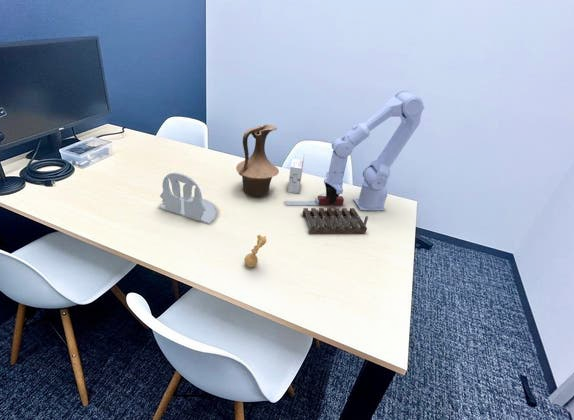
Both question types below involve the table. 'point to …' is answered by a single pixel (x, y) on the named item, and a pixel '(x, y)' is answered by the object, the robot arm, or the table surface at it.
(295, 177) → the ink cartridge box
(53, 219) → the table surface
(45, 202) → the table surface
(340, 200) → the knife
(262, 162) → the pitcher
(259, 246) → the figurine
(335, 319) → the table surface
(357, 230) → the drying rack
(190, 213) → the ornament
